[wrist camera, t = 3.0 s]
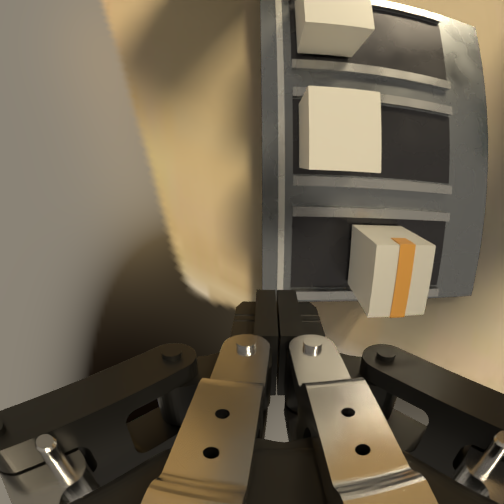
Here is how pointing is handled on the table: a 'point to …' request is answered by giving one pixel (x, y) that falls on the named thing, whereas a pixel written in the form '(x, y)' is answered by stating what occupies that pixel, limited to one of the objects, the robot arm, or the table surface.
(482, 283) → the table surface
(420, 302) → the block
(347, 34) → the handle
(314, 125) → the handle
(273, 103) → the grey flat slotted panel
